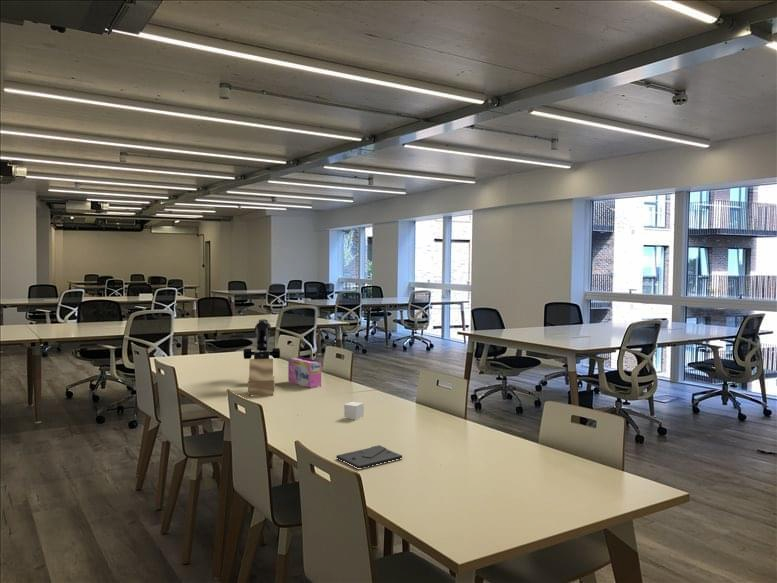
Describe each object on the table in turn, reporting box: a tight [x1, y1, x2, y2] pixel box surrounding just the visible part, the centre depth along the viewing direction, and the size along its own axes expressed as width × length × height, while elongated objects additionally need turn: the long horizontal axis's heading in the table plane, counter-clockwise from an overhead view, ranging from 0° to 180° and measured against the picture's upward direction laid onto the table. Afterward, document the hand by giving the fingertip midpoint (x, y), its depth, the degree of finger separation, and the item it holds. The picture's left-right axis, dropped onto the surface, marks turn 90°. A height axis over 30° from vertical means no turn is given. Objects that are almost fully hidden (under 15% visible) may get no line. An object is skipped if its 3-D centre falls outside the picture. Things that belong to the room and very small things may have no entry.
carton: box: [247, 375, 276, 397], centre depth 302 cm, size 12×13×8 cm
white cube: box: [343, 401, 365, 420], centre depth 254 cm, size 6×6×6 cm
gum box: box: [287, 356, 322, 388], centre depth 326 cm, size 24×8×14 cm, turn 40°
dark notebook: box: [335, 444, 403, 468], centre depth 200 cm, size 13×2×18 cm
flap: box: [248, 358, 274, 381], centre depth 298 cm, size 12×12×1 cm
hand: (261, 366), depth 305 cm, fingers closed
